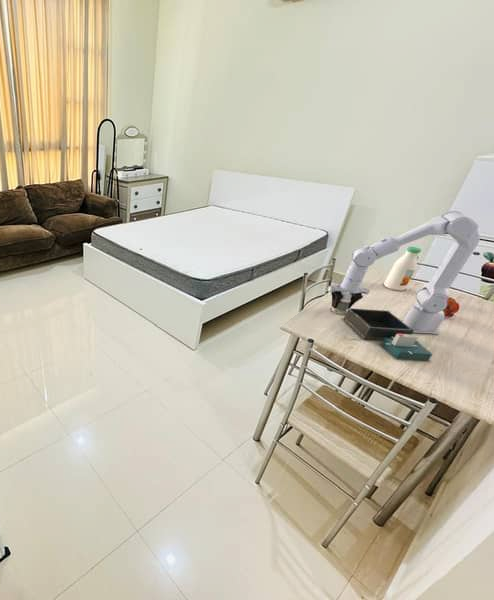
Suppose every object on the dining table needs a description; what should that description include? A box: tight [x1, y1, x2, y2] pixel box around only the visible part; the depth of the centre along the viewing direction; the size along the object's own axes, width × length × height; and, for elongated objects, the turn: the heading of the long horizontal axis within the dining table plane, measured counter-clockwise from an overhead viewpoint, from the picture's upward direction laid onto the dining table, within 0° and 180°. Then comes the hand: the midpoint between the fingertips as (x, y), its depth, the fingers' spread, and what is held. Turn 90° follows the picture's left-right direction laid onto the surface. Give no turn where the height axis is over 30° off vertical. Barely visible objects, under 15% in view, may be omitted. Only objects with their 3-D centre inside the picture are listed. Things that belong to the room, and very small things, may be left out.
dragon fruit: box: [442, 296, 460, 318], centre depth 131 cm, size 8×8×12 cm
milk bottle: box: [383, 246, 422, 292], centre depth 149 cm, size 8×8×20 cm
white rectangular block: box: [392, 333, 418, 347], centre depth 109 cm, size 6×2×4 cm, turn 84°
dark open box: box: [343, 307, 414, 342], centre depth 121 cm, size 15×14×5 cm
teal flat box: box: [380, 336, 433, 362], centre depth 110 cm, size 12×10×3 cm
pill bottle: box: [331, 292, 352, 315], centre depth 132 cm, size 5×5×8 cm
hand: (340, 307), depth 133 cm, fingers closed on pill bottle, 5 cm apart
